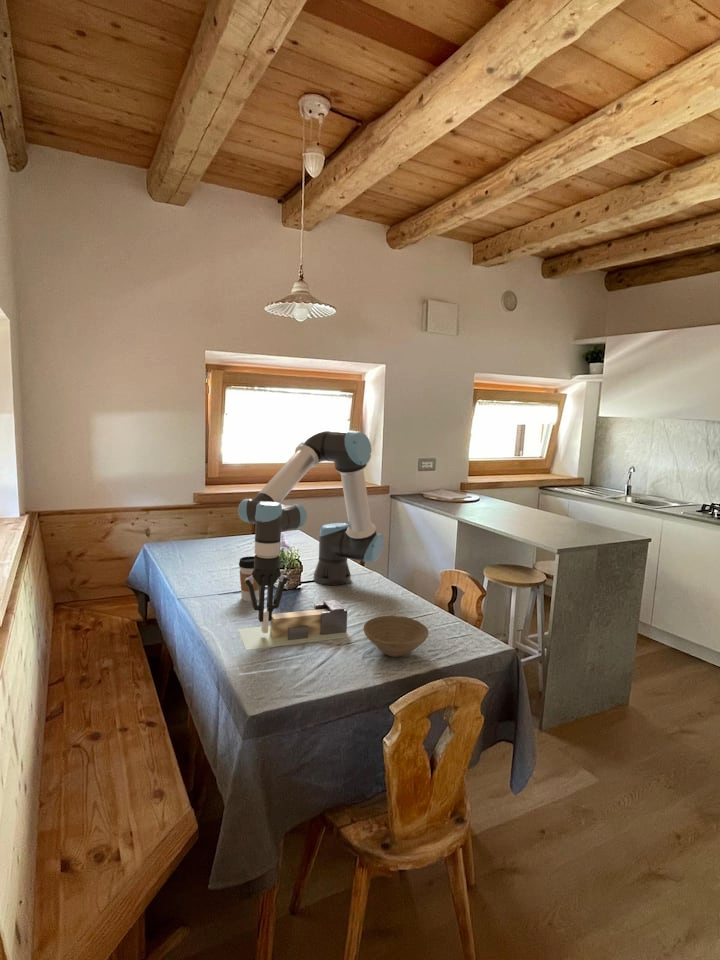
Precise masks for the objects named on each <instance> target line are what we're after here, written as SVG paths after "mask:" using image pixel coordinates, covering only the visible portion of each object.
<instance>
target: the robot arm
mask: <svg viewBox="0 0 720 960" xmlns="http://www.w3.org/2000/svg"><path fill="white" fill-rule="evenodd" d="M371 453H372V443H371V441H370V439H369V437H368V436H367V435H366V434H365V433H364V432H363V431H362V432H361V431H356V430H346V429H345V430H343V429H331V428H330V429H329V428H326V429H321V430H319V431H316V432H314V433H313V434H310V435H309V436H308V437H306V438H305V439H304V440H302V442H301V443H300V444H298V445H297V446H296V448H295V450H294V454H293V455H292V456H291V457H290V458H289V460H288V461H286V462H285V464H284V465H283V466H281V468H280V469H279V470H278V471H277V472H276V474H274V476H273V477H272V478H271V479H270V480H269V481H268V482H267V483H266V485H264V486H263V488H262V489H261V490H260V491H259V492H258V493H257V494H256V496H254V498H244V499H242V500H241V501H240V503H239V505H238V506H237V507H238V508H237V514H238V517H239V519H240V520H241V521H243V522H245V523H249V524H253V525H254V524H255V525H254V529H255V530H254V534H255V536H254V551H253V552H254V554H255V555H254V570H253V572H252V575H251V576H250V577H248V578H245V579H244V580H245V582H246V584H247V585H248V589H249V593H250V598H251V601H250V602H251V605H252V608H253V610H254V611H256V612H257V611H258V622H259V623H261V625H260V627H261V630H262V632H263V633H268V626H269V622H271V620H272V614H273V612H274V610H276V609H277V610H278V609H279V606H280V603H281V600H282V596H283V592H284V588H285V585H286V583H288V581H289V578H288V576H287V575H285V574H282V572H281V571H282V570H281V569H280V567H281V566H280V565H281V556H280V554H281V538H282V537H281V536H282V533H283V532H287V531H291V530H297V529H298V528H301V527H303V526H305V524H306V522H307V519H308V513H307V510H306V508H305V507H304V506H303V505H301V504H300V503H291V504H284V503H282V502H283V500H284V499H285V498H286V496H288V495H289V493H290V492H292V490H293V489H294V488H295V487H296V485H298V483H299V482H300V481H301V480H302V478H304V476H305V475H306V474H307V473H308V472H309V471H310V469H311V468H315V467H317V465H318V464H319V463H321V462H333V463H334V469H335V471H336V472H338V473H339V474H340V479H341V480H340V481H341V485H342V486H341V487H342V490H343V491H342V492H343V497H344V502H345V509H346V516H347V520H348V523H346V522H335V523H334V522H333V523H327V524H323V525H322V526H321V527H320V530H319V540H318V541H319V544H318V562H317V564H316V568H315V570H314V572H313V581H314V582H316V583H317V584H320V585H321V584H322V585H325V586H326V585H327V586H341V585H340V584H343V585H345V584H344V583H346V584H348V583H347V582H349V581H350V582H351V580H350V579H351V578H352V577H351V576H352V574H351V572H350V571H351V570H350V567H349V563H348V559H349V560H353V561H354V560H355V561H359V562H364V563H370V564H371V563H375V562H376V561H377V560H378V559H379V558H380V556H381V555H382V552H383V548H384V541H385V540H384V536H383V535H382V534H381V533H378V532H377V528H376V525H375V524H374V523H372V520H371V511H370V506H369V498H368V492H367V491H368V490H367V485H366V479H365V472H364V470H365V469H366V467H367V466H368V463H369V462H370V460H371V457H372V455H371ZM253 579H255V580H256V582H257V583H258V584H259V597H258V601H257V600H256V597H255V592H254V588H253V585H252V584H253V583H254V582H253ZM277 581H278V584H277V587H276V591H275V593H274V588H275V584H276V582H277ZM350 582H349V583H350ZM266 587H267V591H265V590H266ZM265 593H266V597H265ZM274 594H275V595H274ZM265 598H266V608H265Z"/></svg>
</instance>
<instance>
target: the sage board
mask: <svg viewBox="0 0 720 960" xmlns="http://www.w3.org/2000/svg"><path fill="white" fill-rule="evenodd" d="M237 632H238V634H239V638H240V639H241V641H242V643H243V645H244V648H245V650H246V651H250V650H251V651H253V650H259V649H267V648H268V649H269V648H274V647H282V646H290V645H298V644H305V643H313V642H321V641H328V640H337V639H344V638H352V636H351V634H350V633H349V632H348V631H346V632H344V633H335V634H327V635H321V634H320V633H315V634H308V638H304V639H296V640H288V637H281V638H273V637H272V635H271V634H270V625H268V633H263V632H262V630H261V626H254V627H253V626H251V627H245V628H237Z"/></svg>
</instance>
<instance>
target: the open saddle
mask: <svg viewBox="0 0 720 960" xmlns="http://www.w3.org/2000/svg"><path fill="white" fill-rule="evenodd" d="M304 638H308V626H307V625H306V626H297V627H288V640H296V639H304Z"/></svg>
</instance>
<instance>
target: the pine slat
mask: <svg viewBox="0 0 720 960" xmlns="http://www.w3.org/2000/svg"><path fill="white" fill-rule="evenodd" d="M324 611H329V610H328V609H317V610H314V609H310V610H298V611H290V612H288V611H287V612H280V613H279V612H278V613H272V620H271V621H269V622H270V625H269V626H270V634H271V635H272V637H273V638H281V637H288V627H297V626H306V625H307V626H308V634H315V633H320V627H321V612H324Z"/></svg>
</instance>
